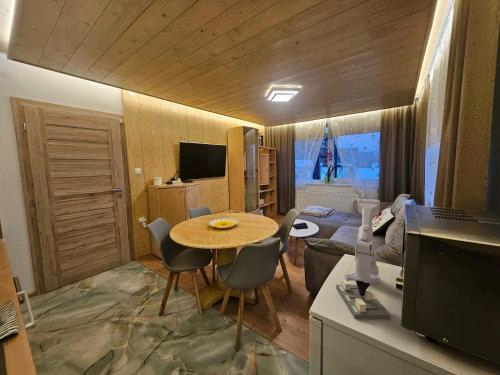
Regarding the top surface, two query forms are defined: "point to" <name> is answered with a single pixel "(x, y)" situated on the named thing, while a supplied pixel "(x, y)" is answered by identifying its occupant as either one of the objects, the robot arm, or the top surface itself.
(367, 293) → the breaker
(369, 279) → the robot arm
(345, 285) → the block
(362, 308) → the block
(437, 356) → the top surface
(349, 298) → the breaker panel
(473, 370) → the top surface
